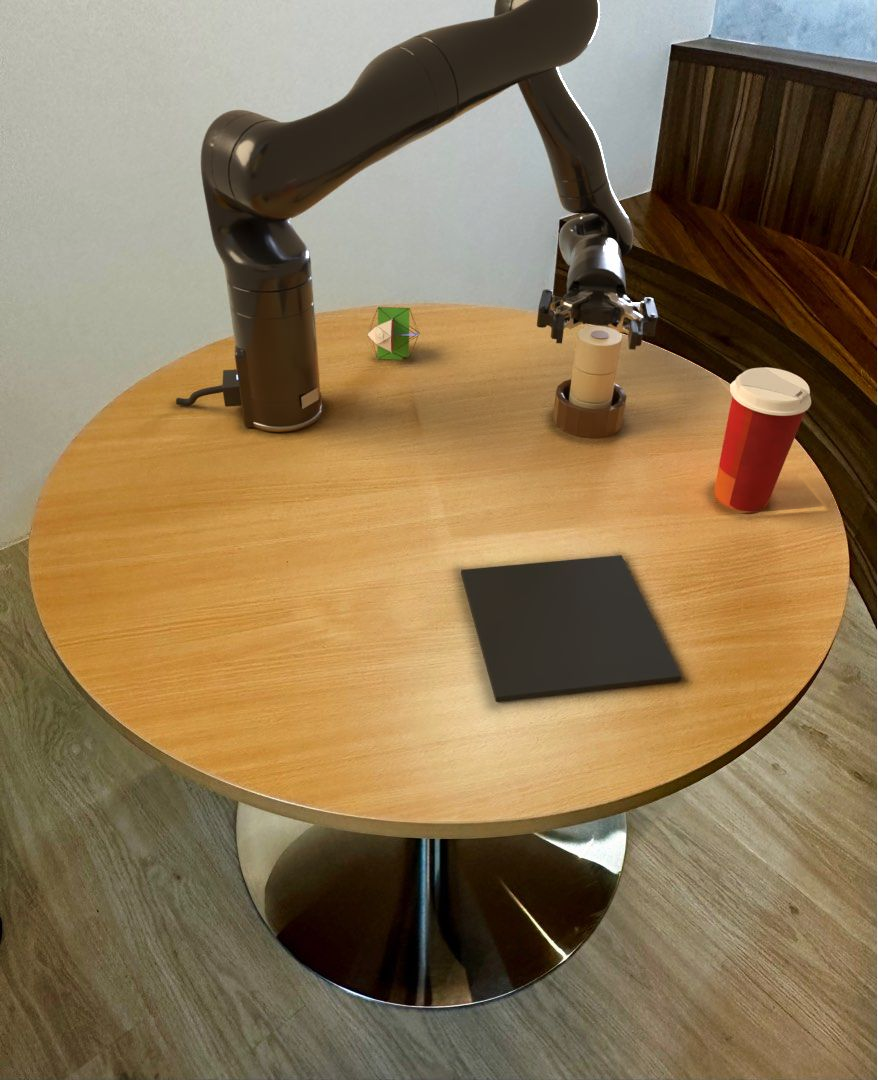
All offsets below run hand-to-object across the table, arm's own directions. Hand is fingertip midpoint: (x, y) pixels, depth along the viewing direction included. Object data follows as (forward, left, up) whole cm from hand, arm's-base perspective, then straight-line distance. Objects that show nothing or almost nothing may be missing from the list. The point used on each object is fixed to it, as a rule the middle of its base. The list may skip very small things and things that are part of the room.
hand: (596, 339), depth 103 cm
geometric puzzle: (-22, +17, -10) cm, 29 cm away
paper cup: (+11, -20, -10) cm, 25 cm away
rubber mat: (-13, -36, -9) cm, 39 cm away
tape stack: (-1, -3, -9) cm, 10 cm away
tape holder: (-1, -3, -10) cm, 10 cm away
